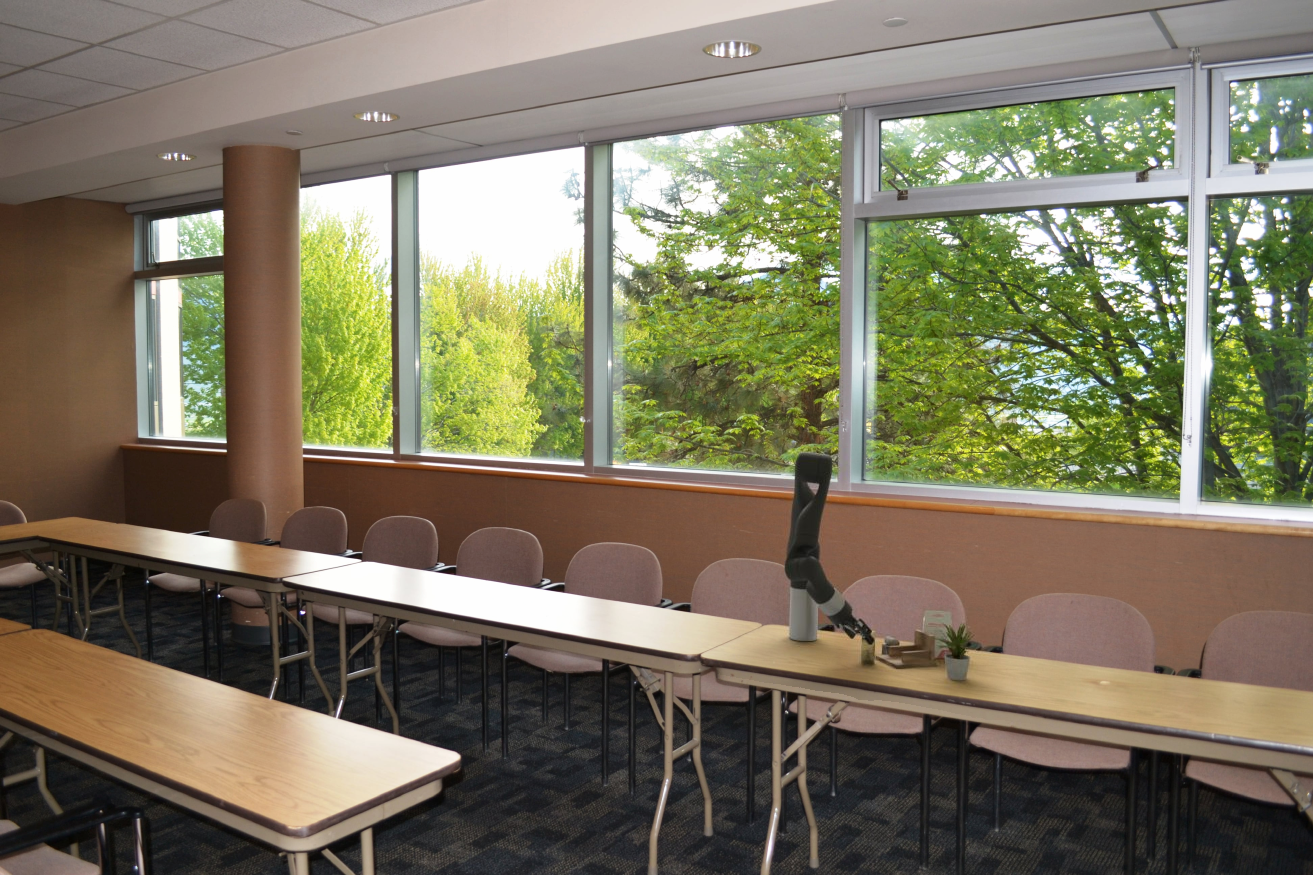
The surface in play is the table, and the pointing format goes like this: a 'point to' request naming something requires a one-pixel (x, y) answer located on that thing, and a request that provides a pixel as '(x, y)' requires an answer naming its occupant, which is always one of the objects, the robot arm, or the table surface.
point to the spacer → (868, 651)
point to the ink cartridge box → (935, 623)
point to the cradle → (909, 651)
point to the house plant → (956, 652)
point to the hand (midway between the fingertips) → (862, 639)
